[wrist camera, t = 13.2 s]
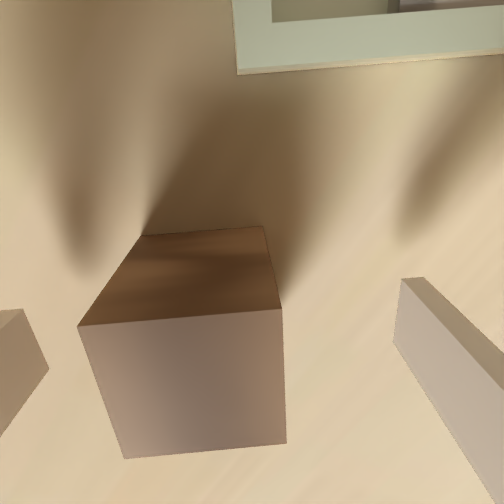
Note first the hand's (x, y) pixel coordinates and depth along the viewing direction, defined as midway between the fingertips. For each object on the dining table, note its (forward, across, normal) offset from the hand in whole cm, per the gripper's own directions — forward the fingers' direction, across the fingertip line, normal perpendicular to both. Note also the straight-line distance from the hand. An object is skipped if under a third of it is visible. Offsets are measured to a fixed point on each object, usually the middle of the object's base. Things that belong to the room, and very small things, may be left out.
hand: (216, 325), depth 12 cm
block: (+3, -1, 0) cm, 3 cm away
